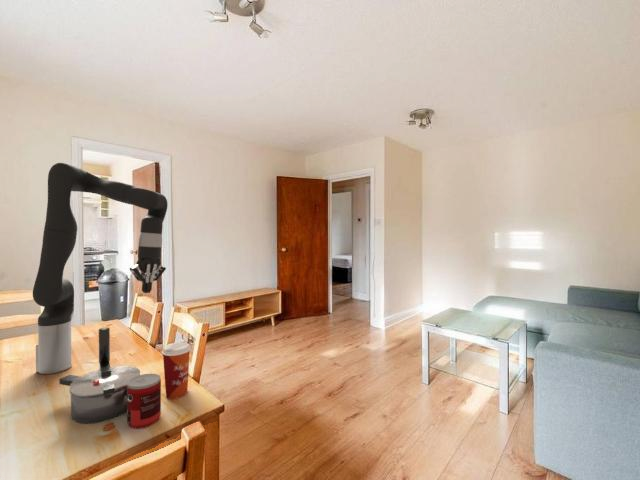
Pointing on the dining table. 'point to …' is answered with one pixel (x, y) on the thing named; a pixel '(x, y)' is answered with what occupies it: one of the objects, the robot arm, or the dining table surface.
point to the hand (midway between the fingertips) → (146, 292)
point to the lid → (103, 373)
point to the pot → (96, 405)
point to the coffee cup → (176, 369)
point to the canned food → (143, 400)
